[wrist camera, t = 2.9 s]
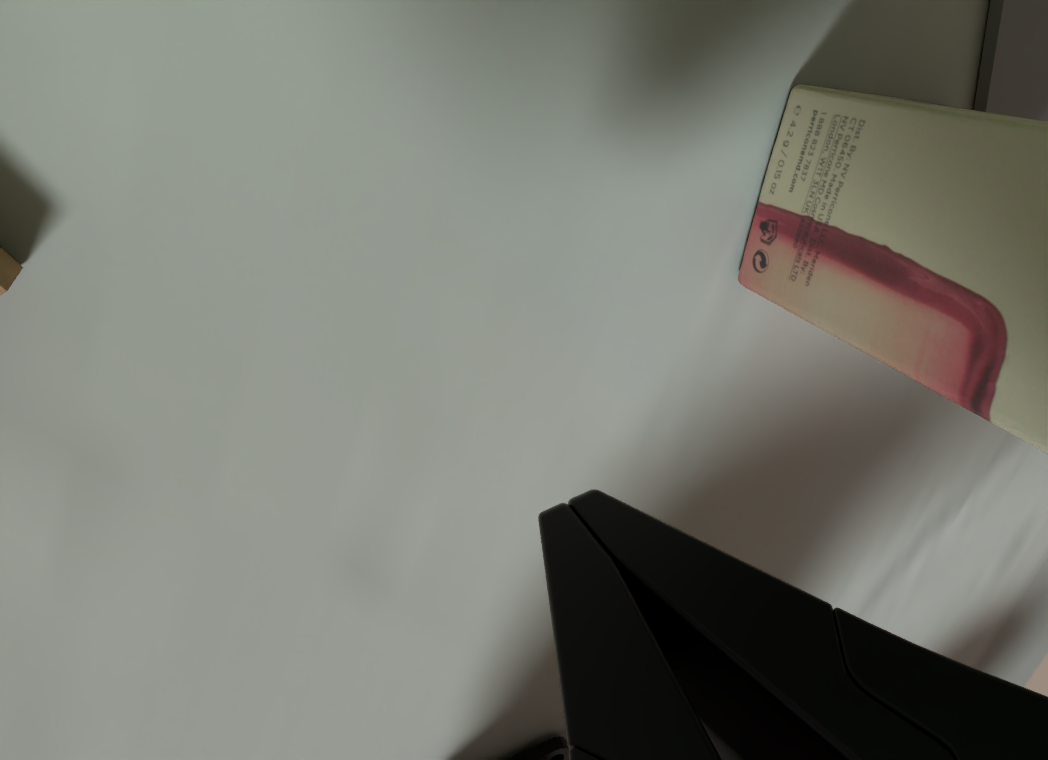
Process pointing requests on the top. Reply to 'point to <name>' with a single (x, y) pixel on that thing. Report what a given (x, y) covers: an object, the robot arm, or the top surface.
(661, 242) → the top surface
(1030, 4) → the mat
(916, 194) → the small box
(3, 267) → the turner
